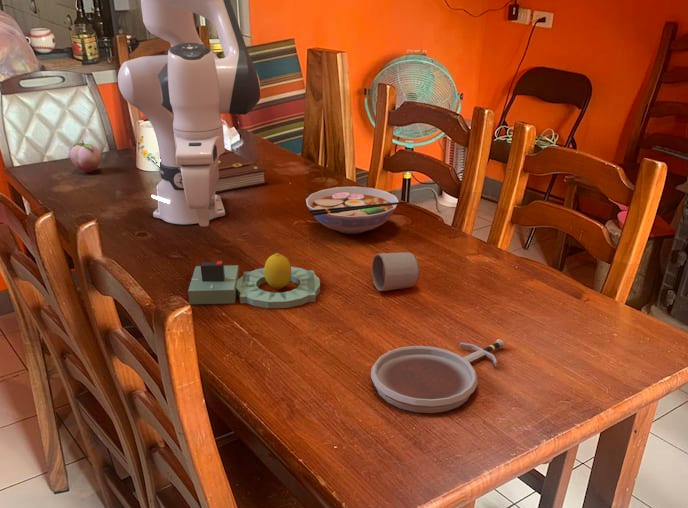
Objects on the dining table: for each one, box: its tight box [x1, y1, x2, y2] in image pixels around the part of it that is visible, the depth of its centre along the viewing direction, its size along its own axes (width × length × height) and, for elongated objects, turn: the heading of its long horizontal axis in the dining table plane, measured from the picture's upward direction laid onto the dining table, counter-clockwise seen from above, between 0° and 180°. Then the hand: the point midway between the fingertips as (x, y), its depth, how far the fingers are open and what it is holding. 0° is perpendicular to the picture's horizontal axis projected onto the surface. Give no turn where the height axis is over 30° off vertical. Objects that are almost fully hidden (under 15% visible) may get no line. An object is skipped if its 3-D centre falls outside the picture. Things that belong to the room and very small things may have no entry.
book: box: [215, 148, 267, 194], centre depth 206 cm, size 23×32×5 cm
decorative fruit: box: [69, 139, 102, 174], centre depth 210 cm, size 9×8×10 cm
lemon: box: [263, 252, 292, 291], centre depth 137 cm, size 6×6×8 cm
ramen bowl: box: [305, 186, 411, 235], centre depth 167 cm, size 25×23×8 cm
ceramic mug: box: [371, 251, 421, 292], centre depth 139 cm, size 11×8×8 cm
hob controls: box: [187, 264, 240, 305], centre depth 138 cm, size 12×9×3 cm
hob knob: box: [200, 260, 225, 281], centre depth 136 cm, size 4×2×4 cm, turn 92°
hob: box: [236, 266, 321, 309], centre depth 139 cm, size 17×17×2 cm
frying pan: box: [370, 338, 505, 414], centre depth 111 cm, size 17×3×28 cm
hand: (207, 216), depth 130 cm, fingers open, 8 cm apart
